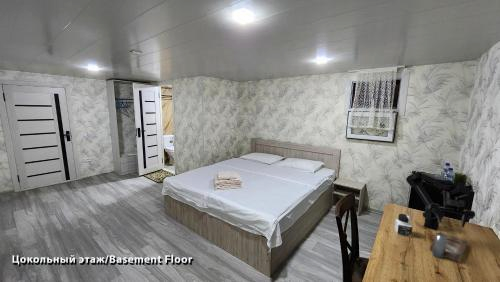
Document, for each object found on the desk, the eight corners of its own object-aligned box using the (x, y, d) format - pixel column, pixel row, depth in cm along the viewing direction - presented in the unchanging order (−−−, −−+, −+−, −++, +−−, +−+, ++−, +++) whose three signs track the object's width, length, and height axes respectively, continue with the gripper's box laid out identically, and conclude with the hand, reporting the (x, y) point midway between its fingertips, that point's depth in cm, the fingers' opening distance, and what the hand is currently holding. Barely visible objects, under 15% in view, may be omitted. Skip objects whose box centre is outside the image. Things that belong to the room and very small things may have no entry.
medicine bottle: (397, 234, 130) (399, 217, 128) (394, 228, 137) (396, 211, 135) (411, 237, 127) (413, 219, 125) (407, 231, 134) (409, 213, 132)
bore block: (429, 250, 116) (430, 246, 116) (439, 235, 129) (440, 232, 129) (459, 262, 107) (460, 258, 106) (467, 245, 120) (467, 241, 119)
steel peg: (431, 255, 112) (434, 234, 110) (433, 252, 114) (437, 232, 113) (442, 260, 108) (446, 239, 107) (444, 256, 111) (448, 235, 109)
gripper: (432, 189, 123) (432, 214, 116) (477, 197, 113) (480, 225, 106) (428, 197, 131) (428, 221, 124) (470, 205, 121) (473, 232, 113)
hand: (451, 225), depth 116 cm, fingers open, 9 cm apart
